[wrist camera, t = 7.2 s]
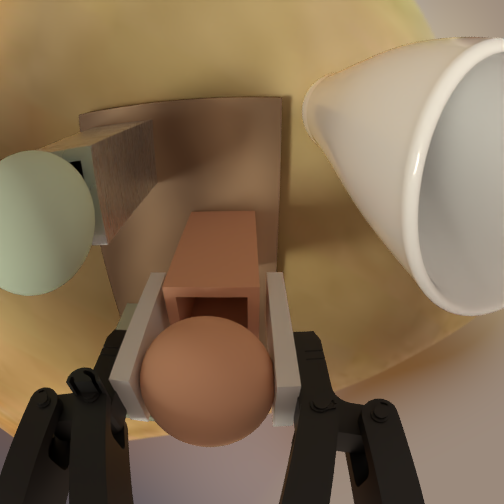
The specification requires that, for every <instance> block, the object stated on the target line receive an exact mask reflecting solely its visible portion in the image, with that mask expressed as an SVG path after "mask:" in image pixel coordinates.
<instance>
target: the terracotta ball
mask: <svg viewBox="0 0 504 504" xmlns="http://www.w3.org/2000/svg"><path fill="white" fill-rule="evenodd" d="M140 388H141V394H142V397H143V401H144V403H145V406H146V408H147V410H148V412H149V413H150V415H151V417H152V418H153V419H154V420H155V422H156V423H157V424H158V425H159V426H160V427H161V428H162V429H163V430H164V431H166V432H167V433H168V434H170V435H171V436H173V437H174V438H176V439H178V440H180V441H183V442H185V443H188V444H192V445H196V446H202V447H217V446H224V445H228V444H231V443H234V442H237V441H239V440H241V439H243V438H245V437H246V436H248V435H249V434H251V433H252V432H253V431H254V430H255V429H256V428H258V427H259V426H260V424H261V423H262V422H263V421H264V419H265V418H266V416H267V415H268V413H269V411H270V409H271V407H272V404H273V401H274V368H273V363H272V360H271V357H270V355H269V353H268V351H267V350H266V348H265V347H264V345H263V344H262V342H261V341H260V340H259V339H258V338H257V337H256V336H255V335H254V334H253V333H252V332H250V331H249V330H248V329H246V328H245V327H243V326H242V325H240V324H238V323H236V322H234V321H231V320H228V319H225V318H221V317H215V316H197V317H191V318H187V319H184V320H181V321H179V322H176V323H174V324H172V325H171V326H169V327H168V328H166V329H165V330H164V331H162V332H161V333H160V334H159V335H158V336H157V337H156V338H155V339H154V340H153V342H152V343H151V345H150V346H149V348H148V350H147V351H146V353H145V356H144V359H143V361H142V365H141V370H140Z"/></svg>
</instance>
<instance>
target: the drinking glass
mask: <svg viewBox="0 0 504 504" xmlns="http://www.w3.org/2000/svg"><path fill="white" fill-rule="evenodd" d="M302 119H303V123H304V127H305V129H306V131H307V133H308V135H309V136H310V138H311V139H312V140H313V142H314V143H315V144H316V145H317V146H319V148H320V149H321V151H322V152H323V154H324V155H325V157H326V158H327V160H328V162H329V163H330V165H331V166H332V168H333V170H334V171H335V173H336V175H337V176H338V178H339V180H340V181H341V183H342V185H343V187H344V188H345V190H346V192H347V193H348V195H349V196H350V198H351V200H352V201H353V203H354V204H355V206H356V207H357V209H358V210H359V212H360V213H361V214H362V216H363V217H364V219H365V220H366V222H367V223H368V224H369V226H370V227H371V228H372V230H373V231H374V232H375V233H376V235H377V236H378V237H379V239H380V240H381V241H382V242H383V244H384V245H385V246H386V247H387V249H388V250H389V251H390V252H391V254H392V255H393V256H394V257H395V258H396V260H397V261H398V262H399V263H400V265H401V266H402V267H403V268H404V269H405V270H406V272H407V273H408V274H409V275H410V276H411V278H412V279H413V280H414V281H415V282H416V284H417V285H418V286H419V287H420V289H421V290H422V292H423V293H424V294H425V295H426V296H427V297H428V298H429V299H430V300H431V301H432V302H433V303H434V304H436V305H437V306H438V307H440V308H442V309H444V310H446V311H448V312H451V313H453V314H457V315H462V316H479V315H484V314H489V313H492V312H496V311H498V310H500V309H503V308H504V38H488V37H451V38H440V39H432V40H425V41H420V42H414V43H410V44H406V45H402V46H399V47H396V48H393V49H390V50H387V51H384V52H382V53H379V54H377V55H374V56H372V57H370V58H367V59H365V60H363V61H361V62H358V63H356V64H354V65H352V66H350V67H347V68H345V69H343V70H341V71H338V72H334V73H330V74H327V75H325V76H323V77H321V78H320V79H318V80H317V81H316V82H315V83H313V85H312V86H311V87H310V88H309V90H308V91H307V93H306V95H305V97H304V100H303V105H302Z"/></svg>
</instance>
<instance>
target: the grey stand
mask: <svg viewBox="0 0 504 504" xmlns="http://www.w3.org/2000/svg"><path fill="white" fill-rule="evenodd" d="M37 150H38V151H45V152H49V153H52V154H55V155H57V156H59V157H61V158H63V159H64V160H66V161H67V162H69V163H70V164H71V165H72V166H73V167H74V168H75V169H76V170H77V171H78V172H79V173H80V175H81V176H82V178H83V179H84V181H85V182H86V184H87V186H88V188H89V191H90V193H91V196H92V200H93V204H94V210H95V231H94V236H93V241H92V245H108V244H109V243H110V242H111V240H112V239H113V238H114V236H115V235H116V234H117V232H118V231H119V230H120V228H121V227H122V226H123V225H124V223H125V222H126V221H127V220H128V218H129V217H130V216H131V214H132V213H133V212H134V211H135V210H136V208H137V207H138V206H139V205H140V203H141V202H142V201H143V200H144V199H145V197H146V196H147V195H148V194H149V193H150V191H151V190H152V189H153V188H154V187H155V185H156V184H157V183H158V182H157V172H156V162H155V151H154V138H153V124H152V120H143V121H135V122H127V123H120V124H113V125H106V126H100V127H94V128H91V129H88V130H85V131H82V132H80V133H77V134H74V135H72V136H69V137H66V138H64V139H61V140H59V141H56V142H54V143H51V144H49V145H47V146H44V147H42V148H40V149H37Z"/></svg>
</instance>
